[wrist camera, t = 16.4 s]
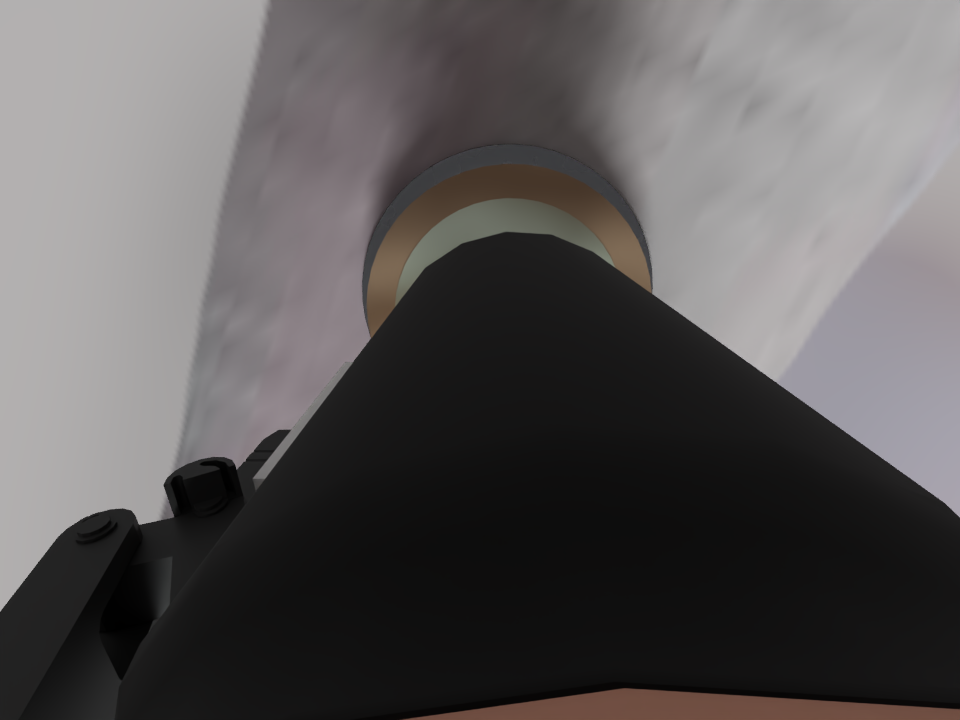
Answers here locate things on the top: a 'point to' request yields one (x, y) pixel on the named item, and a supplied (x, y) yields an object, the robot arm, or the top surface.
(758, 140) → the top surface
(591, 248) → the index wheel
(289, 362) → the top surface
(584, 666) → the coffee jar
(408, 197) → the wheel base
